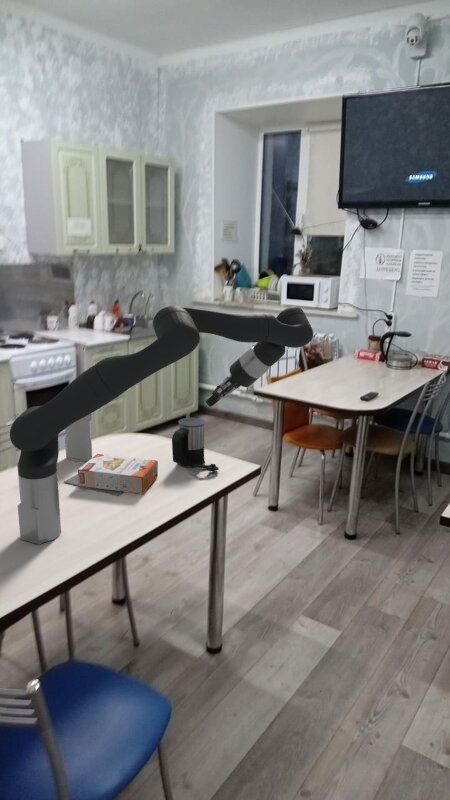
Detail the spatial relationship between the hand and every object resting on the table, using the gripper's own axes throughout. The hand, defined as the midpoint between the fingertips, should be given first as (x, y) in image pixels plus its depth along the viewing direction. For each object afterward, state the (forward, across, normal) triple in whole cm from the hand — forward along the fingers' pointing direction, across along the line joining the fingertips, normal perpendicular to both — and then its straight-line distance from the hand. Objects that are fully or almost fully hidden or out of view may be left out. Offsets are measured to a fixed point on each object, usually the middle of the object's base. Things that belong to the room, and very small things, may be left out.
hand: (209, 403), depth 159 cm
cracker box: (+31, -1, -5) cm, 32 cm away
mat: (+45, 0, +3) cm, 45 cm away
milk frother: (+30, +20, -11) cm, 38 cm away
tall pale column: (+58, +6, +16) cm, 60 cm away
